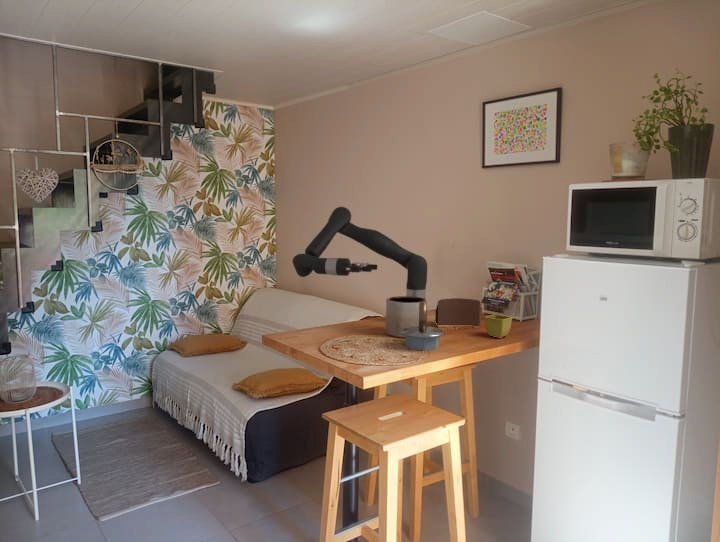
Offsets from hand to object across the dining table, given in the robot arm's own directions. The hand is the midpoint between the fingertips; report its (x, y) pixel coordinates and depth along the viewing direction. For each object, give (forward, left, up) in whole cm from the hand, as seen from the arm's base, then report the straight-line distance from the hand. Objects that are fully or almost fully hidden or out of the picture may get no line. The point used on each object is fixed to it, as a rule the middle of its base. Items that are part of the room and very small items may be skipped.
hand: (374, 268), depth 229 cm
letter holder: (-48, -10, -30) cm, 57 cm away
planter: (-17, -2, -30) cm, 35 cm away
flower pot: (-52, +17, -30) cm, 62 cm away
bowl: (-13, +20, -30) cm, 38 cm away
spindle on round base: (-12, +20, -25) cm, 34 cm away
